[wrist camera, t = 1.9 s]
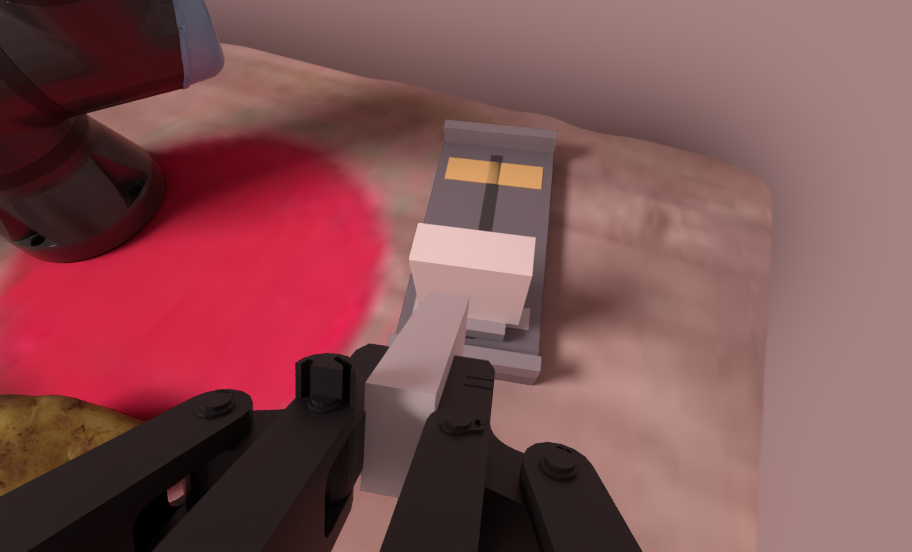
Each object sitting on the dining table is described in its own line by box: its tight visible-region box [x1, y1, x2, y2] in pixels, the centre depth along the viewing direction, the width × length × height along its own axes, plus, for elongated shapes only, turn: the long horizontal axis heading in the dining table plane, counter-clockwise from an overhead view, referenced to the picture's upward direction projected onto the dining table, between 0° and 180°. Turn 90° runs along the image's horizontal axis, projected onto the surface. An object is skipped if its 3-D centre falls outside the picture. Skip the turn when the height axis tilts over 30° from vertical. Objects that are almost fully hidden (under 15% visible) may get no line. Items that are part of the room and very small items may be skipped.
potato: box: [0, 394, 144, 496], centre depth 30 cm, size 8×13×8 cm, turn 66°
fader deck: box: [387, 119, 558, 385], centre depth 40 cm, size 26×12×4 cm, turn 170°
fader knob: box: [409, 223, 536, 341], centre depth 32 cm, size 5×8×10 cm, turn 80°
